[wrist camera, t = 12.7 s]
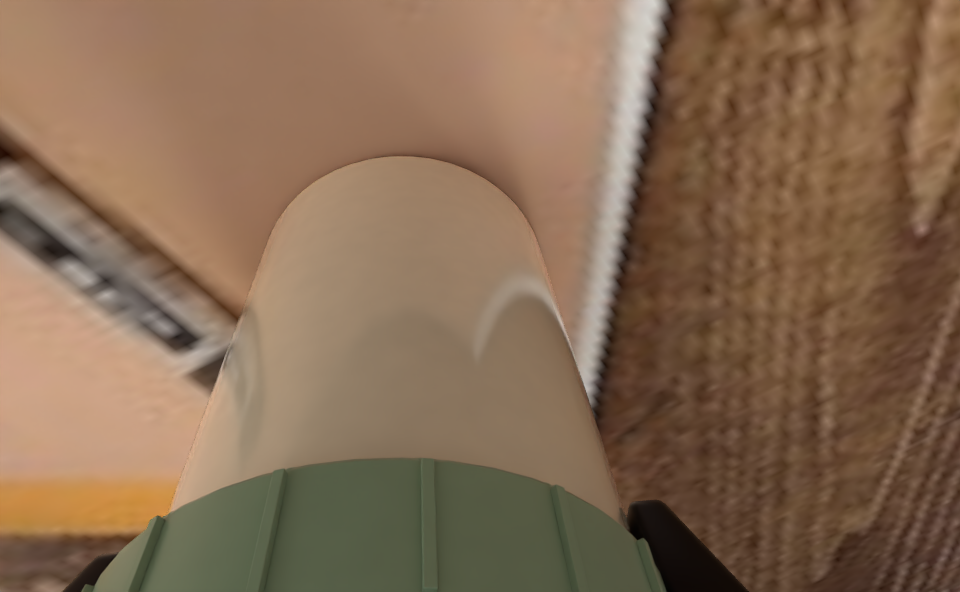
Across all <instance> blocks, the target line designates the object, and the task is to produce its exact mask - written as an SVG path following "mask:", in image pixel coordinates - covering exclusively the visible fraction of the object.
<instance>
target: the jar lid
mask: <svg viewBox="0 0 960 592" xmlns="http://www.w3.org/2000/svg"><path fill="white" fill-rule="evenodd" d="M82 592H667V591H666V588H665V585H664V582H663V579H662V577H661V574H660V571H659V570H658V568H657V567H656V565H655V563H654V560H653V557H652V554H651V551H650V548H649V545H648V542H647V541H646V540H645V539H644V538H642V539H639V540H637V539H636V538H635V537H634V536H633V535H632V534H630V533H629V532H628V531H627V530H626V529H625V528H624V527H623V526H622V525H621V524H619V523H618V522H617V521H615V520H614V519H613V518H611V517H610V516H609V515H607V514H606V513H605V512H603V511H602V510H601V509H599V508H597V507H596V506H594V505H592V504H590V503H588V502H586V501H584V500H583V499H581V498H579V497H577V496H575V495H573V494H572V493H570V492H567V491H565V488H564V487H562V486H559V485H551V484H549V483H546V482H542V481H539V480H537V479H534V478H531V477H527V476H523V475H519V474H516V473H512V472H508V471H504V470H501V469H497V468H493V467H487V466H480V465H474V464H468V463H462V462H455V461H449V460H437V459H433V458H371V459H351V460H342V461H334V462H326V463H318V464H309V465H304V466H300V467H291V468H287V469H286V470H285V469H284V468H283V469H278V470H274V471H273V472H272V473H267V474H263V475H260V476H257V477H254V478H251V479H247V480H244V481H241V482H238V483H235V484H232V485H229V486H226V487H223V488H220V489H218V490H216V491H213V492H211V493H209V494H207V495H205V496H202V497H200V498H198V499H196V500H194V501H191V502H189V503H187V504H185V505H183V506H181V507H179V508H178V509H176V510H175V511H172V512H170V513H169V514H168V515H166V516H164V517H163V518H162V517H160V516H156V517H154V518H153V519H151V520H150V522H149V524H148V527H147V529H146V530H144V531H143V532H142V533H141V534H140V535H139V536H137V537H136V538H135V539H134V540H133V541H131V542H130V543H129V544H128V545H127V546H125V547H124V548H123V549H122V550H121V551H120V552H119V553H118V555H117V556H116V557H115V558H114V559H113V561H112V562H111V563H110V564H109V565H108V566H107V568H106V569H105V570H104V571H103V572H102V574H101V575H100V577H99V579H98V581H97V582H96V584H95V586H91V585H87V584H86V585H85V586H84V588H83V590H82Z"/></svg>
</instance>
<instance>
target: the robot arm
mask: <svg viewBox="0 0 960 592" xmlns="http://www.w3.org/2000/svg"><path fill="white" fill-rule="evenodd" d="M627 521H628V524H629V527H630V530H631V533H632V535H633V536H634V537H635V538H636V539H637V540H639V539H642V538H644V539H645V540H646V541H647V542H648V545H649V548H650V551H651V554H652V557H653V560H654V563H655V565H656V567H657V568H658V570H659V571H660V574H661V577H662V579H663V582H664V585H665V588H666V591H667V592H749V591H748V590H747V589H746V588H745V587H744V586H743V585H742V584H741V583H740V582H739V581H738V580H737V579H736V578H735V577H734V576H733V575H732V573H731V572H730V571H729V570H728V569H727V568H726V567H725V566H724V565H723V564H722V563H721V562H720V561H719V560H718V559H717V558H716V557H715V556H714V555H713V554H712V553H711V552H710V550H709V549H708V548H707V547H706V546H705V545H704V544H703V543H702V542H701V541H700V540H699V539H698V538H697V537H696V536H695V535H694V534H693V533H692V532H691V531H690V530H689V528H688V527H687V526H686V525H685V524H684V523H683V522H682V521H681V520H680V519H679V518H678V517H677V516H676V515H675V514H674V513H673V512H672V511H671V510H670V509H669V508H668V506H667V505H666V504H664V503H663V502H662V501H659V500H647V501H637V502H632V503H631V504H630V506H629V508H628V515H627ZM118 553H119V552H116V553H106V554H102V555H100V556H98V557H96V558H95V559H94V560H92V561H91V562H90V563H89V564H88V565H87V566H86V567H85V569H84V570H83V571H82V572H81V573H80V574H79V575H78V576H77V577H76V578H75V579H74V580H73V581H72V582H71V583H70V584H69V585H68V586H67V587H66V588H65V589H64V590H63V591H62V592H82V590H83V588H84V586H85V585H86V584H87V585H91V586H95V584H96V582H97V581H98V579H99V577H100V575H101V574H102V572H103V571H104V570H105V569H106V568H107V566H108V565H109V564H110V563H111V562H112V561H113V559H114V558H115V557H116V556H117V555H118Z"/></svg>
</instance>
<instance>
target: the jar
mask: <svg viewBox="0 0 960 592" xmlns="http://www.w3.org/2000/svg"><path fill="white" fill-rule="evenodd" d="M371 458H433V459H437V460H449V461H455V462H462V463H468V464H474V465H480V466H487V467H493V468H497V469H501V470H504V471H508V472H512V473H516V474H519V475H523V476H527V477H531V478H534V479H537V480H539V481H542V482H546V483H549V484H551V485H559V486H562V487H564V488H565V491H567V492H570V493H572V494H573V495H575V496H577V497H579V498H581V499H583V500H584V501H586V502H588V503H590V504H592V505H594V506H596V507H597V508H599V509H601V510H602V511H603V512H605V513H606V514H607V515H609V516H610V517H611V518H613V519H614V520H615V521H617V522H618V523H619V524H621V525H622V526H623V527H624V528H625V529H626V530H627V531H628V532H629V533H630V534H632V533H631V530H630V527H629V524H628V521H627V518H626V515H625V512H624V508H623V505H622V502H621V499H620V496H619V493H618V490H617V487H616V484H615V480H614V477H613V474H612V471H611V468H610V465H609V462H608V459H607V456H606V452H605V449H604V446H603V443H602V440H601V437H600V434H599V431H598V428H597V424H596V421H595V418H594V415H593V412H592V409H591V406H590V403H589V400H588V396H587V393H586V390H585V387H584V384H583V381H582V378H581V375H580V371H579V368H578V365H577V362H576V359H575V356H574V353H573V350H572V347H571V343H570V340H569V337H568V334H567V331H566V328H565V325H564V322H563V319H562V315H561V312H560V309H559V306H558V303H557V300H556V297H555V294H554V291H553V287H552V284H551V281H550V278H549V275H548V272H547V269H546V266H545V263H544V259H543V256H542V253H541V250H540V247H539V244H538V242H537V239H536V236H535V234H534V231H533V230H532V228H531V226H530V224H529V223H528V221H527V219H526V217H525V216H524V215H523V213H522V212H521V211H520V209H519V208H518V207H517V206H516V204H515V203H514V202H513V201H512V200H511V199H510V198H509V197H508V196H507V195H506V194H505V193H503V192H502V191H501V190H500V189H499V188H497V187H496V186H494V185H493V184H492V183H490V182H489V181H488V180H486V179H484V178H482V177H481V176H479V175H477V174H475V173H473V172H471V171H469V170H467V169H464V168H462V167H459V166H456V165H454V164H451V163H447V162H443V161H439V160H435V159H430V158H422V157H413V156H389V157H382V158H374V159H368V160H364V161H361V162H357V163H353V164H350V165H347V166H345V167H342V168H340V169H337V170H335V171H332V172H331V173H329V174H327V175H325V176H324V177H322V178H320V179H318V180H317V181H315V182H314V183H312V184H311V185H310V186H308V187H307V188H306V189H305V190H303V191H302V192H301V193H300V194H299V195H298V196H297V197H296V198H295V199H294V200H293V201H292V202H291V203H290V204H289V205H288V206H287V207H286V209H285V210H284V212H283V213H282V214H281V216H280V217H279V219H278V220H277V222H276V224H275V226H274V228H273V230H272V232H271V234H270V236H269V239H268V242H267V244H266V247H265V250H264V253H263V255H262V258H261V261H260V263H259V266H258V269H257V271H256V274H255V277H254V280H253V282H252V285H251V288H250V290H249V293H248V296H247V299H246V301H245V304H244V307H243V309H242V312H241V315H240V317H239V320H238V323H237V326H236V328H235V331H234V334H233V336H232V339H231V342H230V344H229V347H228V350H227V353H226V355H225V358H224V361H223V363H222V366H221V369H220V372H219V374H218V377H217V380H216V382H215V385H214V388H213V390H212V393H211V396H210V399H209V401H208V404H207V407H206V409H205V412H204V415H203V417H202V420H201V423H200V426H199V428H198V431H197V434H196V436H195V439H194V442H193V445H192V447H191V450H190V453H189V455H188V458H187V461H186V463H185V466H184V469H183V472H182V474H181V477H180V480H179V482H178V485H177V488H176V490H175V493H174V496H173V499H172V501H171V504H170V507H169V509H168V512H167V515H168V514H169V513H170V512H172V511H175V510H176V509H178V508H179V507H181V506H183V505H185V504H187V503H189V502H191V501H194V500H196V499H198V498H200V497H202V496H205V495H207V494H209V493H211V492H213V491H216V490H218V489H220V488H223V487H226V486H229V485H232V484H235V483H238V482H241V481H244V480H247V479H251V478H254V477H257V476H260V475H263V474H267V473H272V472H273V471H274V470H278V469H283V468H284V469H285V470H286V469H287V468H291V467H300V466H304V465H309V464H318V463H326V462H334V461H342V460H351V459H371Z"/></svg>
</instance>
